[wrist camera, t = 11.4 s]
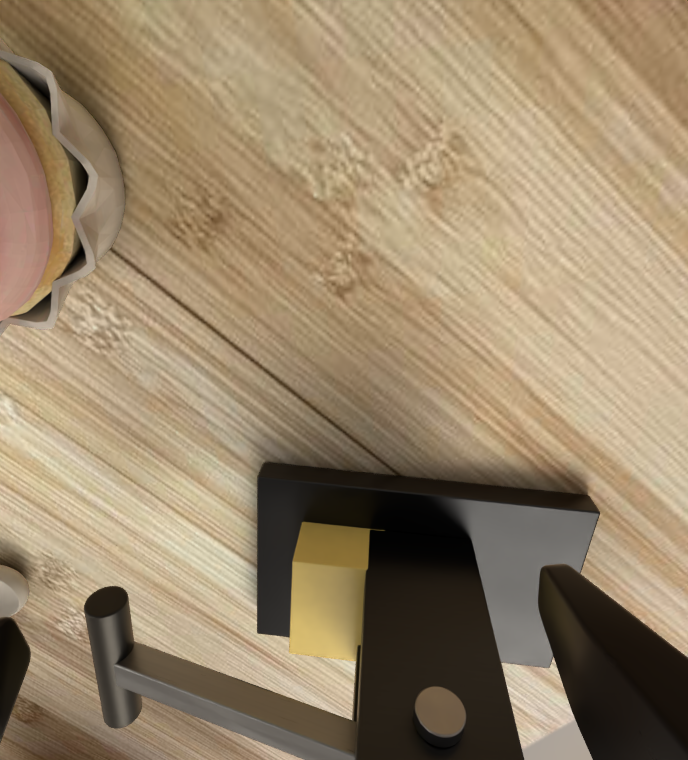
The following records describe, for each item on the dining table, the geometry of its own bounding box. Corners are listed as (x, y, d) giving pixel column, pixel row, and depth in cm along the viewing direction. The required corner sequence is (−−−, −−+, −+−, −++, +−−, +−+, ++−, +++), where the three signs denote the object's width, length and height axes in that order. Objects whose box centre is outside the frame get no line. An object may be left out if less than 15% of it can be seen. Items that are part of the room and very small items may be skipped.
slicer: (262, 613, 25) (179, 904, 15) (263, 461, 21) (156, 705, 11) (542, 646, 24) (651, 973, 14) (589, 494, 21) (778, 785, 11)
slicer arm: (130, 677, 20) (84, 736, 17) (115, 569, 17) (60, 623, 15) (462, 805, 16) (455, 898, 14) (493, 692, 14) (490, 781, 12)
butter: (302, 521, 21) (292, 561, 19) (386, 530, 21) (386, 571, 19) (298, 608, 23) (288, 653, 21) (375, 617, 23) (374, 663, 20)
